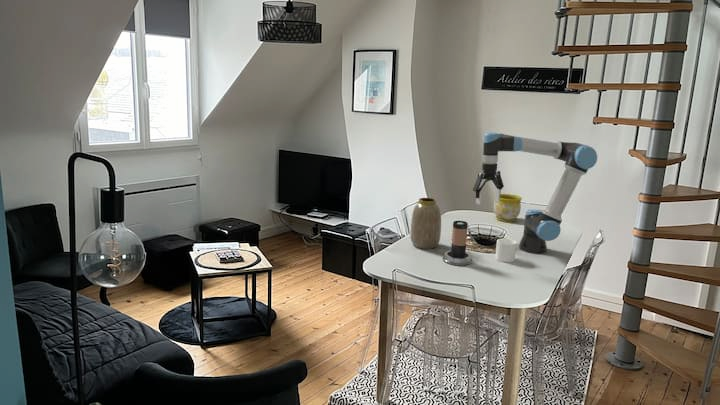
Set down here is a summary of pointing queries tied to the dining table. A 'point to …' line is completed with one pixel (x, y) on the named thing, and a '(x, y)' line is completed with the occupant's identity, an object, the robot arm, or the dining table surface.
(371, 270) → the dining table surface
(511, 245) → the mug
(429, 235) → the vase
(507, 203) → the flowerpot
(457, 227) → the travel mug
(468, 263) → the ring
